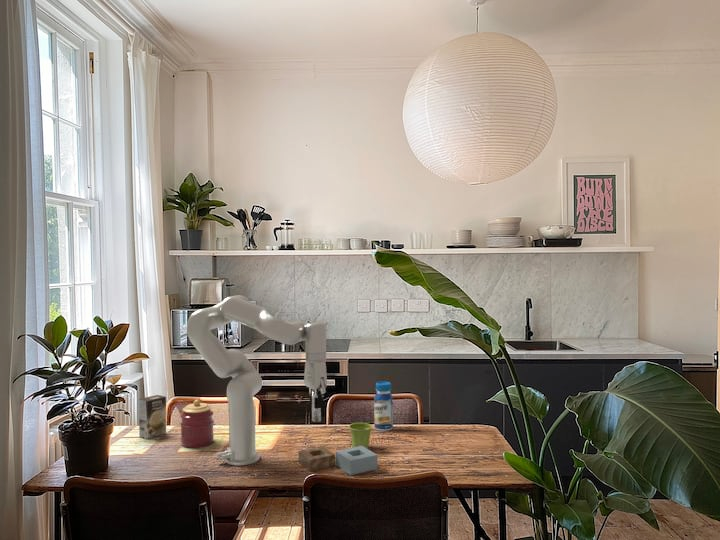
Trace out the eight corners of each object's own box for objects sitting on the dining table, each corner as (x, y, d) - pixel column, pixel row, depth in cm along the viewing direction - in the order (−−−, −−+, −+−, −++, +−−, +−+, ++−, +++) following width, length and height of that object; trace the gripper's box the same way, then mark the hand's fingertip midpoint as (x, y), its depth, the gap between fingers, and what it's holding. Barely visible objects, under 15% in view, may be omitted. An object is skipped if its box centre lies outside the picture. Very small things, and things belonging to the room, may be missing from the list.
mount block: (310, 471, 191) (309, 459, 191) (298, 462, 200) (298, 451, 200) (335, 465, 196) (335, 454, 196) (323, 456, 205) (322, 446, 205)
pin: (314, 422, 195) (314, 389, 195) (310, 420, 198) (310, 387, 198) (322, 421, 197) (322, 388, 197) (318, 418, 200) (318, 386, 199)
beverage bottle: (397, 427, 239) (396, 382, 238) (385, 432, 232) (384, 386, 232) (382, 424, 244) (382, 380, 244) (370, 428, 238) (369, 383, 238)
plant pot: (360, 442, 221) (360, 421, 220) (377, 447, 214) (377, 426, 214) (343, 448, 214) (343, 426, 214) (360, 454, 207) (360, 431, 207)
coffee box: (147, 439, 226) (147, 401, 226) (138, 436, 230) (138, 398, 230) (166, 433, 234) (166, 396, 234) (158, 430, 238) (157, 394, 237)
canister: (188, 450, 213) (188, 406, 212) (175, 442, 222) (174, 399, 222) (219, 443, 221) (218, 400, 221) (205, 435, 231) (204, 394, 230)
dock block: (350, 475, 187) (350, 460, 187) (335, 464, 197) (335, 451, 197) (377, 468, 193) (377, 454, 193) (362, 459, 202) (361, 445, 202)
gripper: (297, 354, 202) (297, 403, 203) (316, 361, 188) (316, 413, 188) (315, 352, 206) (316, 400, 206) (335, 359, 192) (335, 410, 192)
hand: (316, 406), depth 197 cm, fingers closed on pin, 3 cm apart
